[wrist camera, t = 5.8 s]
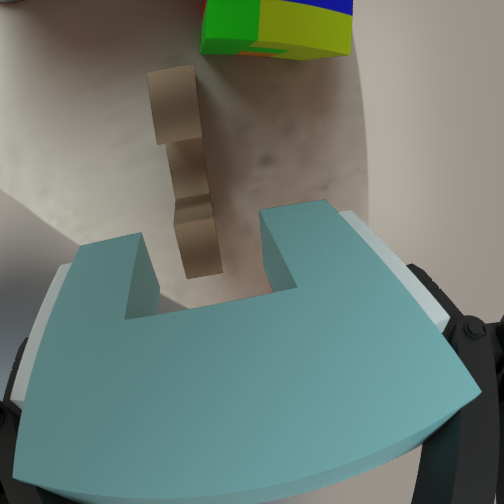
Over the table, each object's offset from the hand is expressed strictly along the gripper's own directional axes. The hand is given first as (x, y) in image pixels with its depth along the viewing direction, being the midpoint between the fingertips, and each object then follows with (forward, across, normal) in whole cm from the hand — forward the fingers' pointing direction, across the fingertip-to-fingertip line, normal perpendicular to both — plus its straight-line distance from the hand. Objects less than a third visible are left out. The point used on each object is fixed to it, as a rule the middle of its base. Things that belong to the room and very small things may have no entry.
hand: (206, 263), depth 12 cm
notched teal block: (+1, 0, 0) cm, 1 cm away
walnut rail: (+19, -1, 0) cm, 19 cm away
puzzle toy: (+20, +8, +14) cm, 25 cm away
